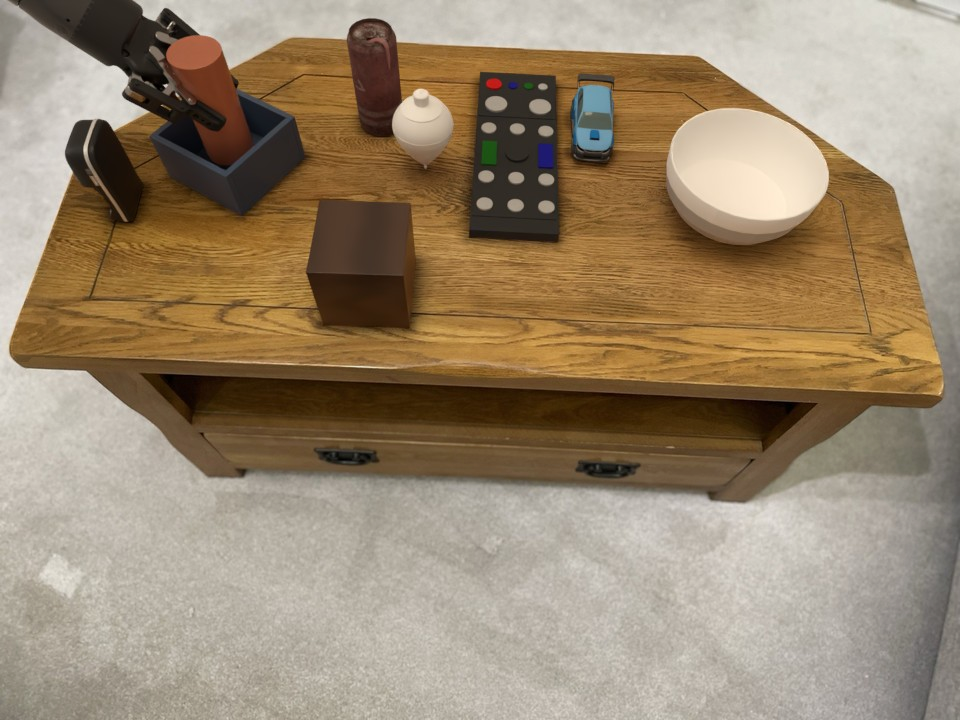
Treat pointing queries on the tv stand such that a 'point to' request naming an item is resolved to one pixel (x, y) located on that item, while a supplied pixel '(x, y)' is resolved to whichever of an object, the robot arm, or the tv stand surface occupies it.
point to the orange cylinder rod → (212, 95)
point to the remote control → (515, 159)
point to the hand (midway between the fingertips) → (228, 106)
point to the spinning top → (422, 126)
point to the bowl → (744, 175)
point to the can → (375, 74)
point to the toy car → (592, 120)
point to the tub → (249, 173)
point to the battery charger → (104, 167)
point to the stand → (363, 263)
